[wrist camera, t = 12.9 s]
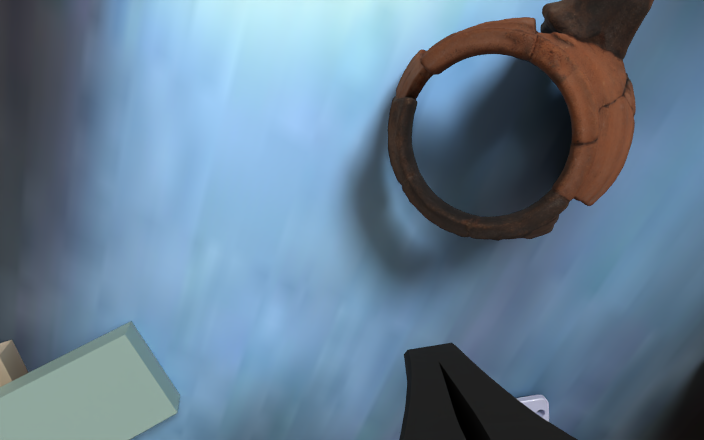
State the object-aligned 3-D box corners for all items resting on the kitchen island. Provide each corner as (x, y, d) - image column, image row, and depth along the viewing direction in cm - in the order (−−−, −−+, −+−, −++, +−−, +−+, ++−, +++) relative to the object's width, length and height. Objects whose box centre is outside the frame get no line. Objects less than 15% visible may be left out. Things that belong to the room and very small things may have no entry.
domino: (177, 412, 22) (17, 501, 20) (180, 395, 23) (31, 476, 22) (124, 334, 20) (-52, 424, 19) (131, 321, 22) (-32, 403, 20)
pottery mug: (547, 238, 23) (530, 311, 16) (398, 148, 25) (327, 178, 18) (732, 2, 17) (833, -46, 10) (515, -85, 19) (475, -173, 12)
